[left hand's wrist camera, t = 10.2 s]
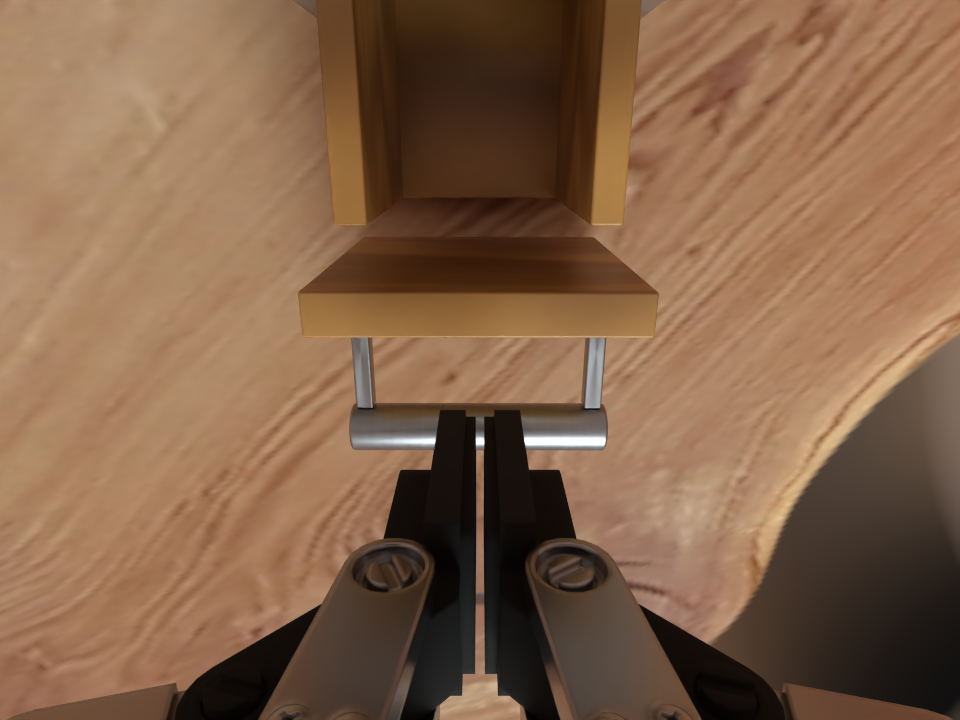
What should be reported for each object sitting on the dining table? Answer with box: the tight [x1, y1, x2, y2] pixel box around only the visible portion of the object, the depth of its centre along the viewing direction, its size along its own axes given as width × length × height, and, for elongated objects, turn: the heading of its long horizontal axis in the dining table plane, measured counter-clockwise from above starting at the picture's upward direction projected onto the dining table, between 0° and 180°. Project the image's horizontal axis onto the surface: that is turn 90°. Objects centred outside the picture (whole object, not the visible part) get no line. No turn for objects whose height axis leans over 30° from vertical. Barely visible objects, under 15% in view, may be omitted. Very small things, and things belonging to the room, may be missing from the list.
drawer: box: [298, 0, 659, 450], centre depth 17 cm, size 24×9×9 cm, turn 0°
